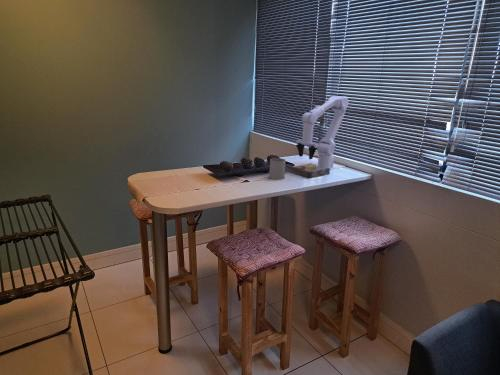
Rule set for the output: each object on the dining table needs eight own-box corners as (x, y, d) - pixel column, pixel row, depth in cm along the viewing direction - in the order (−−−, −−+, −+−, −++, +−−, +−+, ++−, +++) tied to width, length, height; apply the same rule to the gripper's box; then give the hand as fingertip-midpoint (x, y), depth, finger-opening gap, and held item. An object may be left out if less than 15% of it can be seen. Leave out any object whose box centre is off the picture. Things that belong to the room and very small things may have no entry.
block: (299, 173, 197) (299, 164, 195) (309, 171, 202) (310, 163, 201) (304, 175, 194) (305, 166, 192) (315, 173, 199) (316, 164, 197)
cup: (284, 179, 186) (286, 161, 182) (269, 179, 186) (270, 161, 183) (283, 175, 194) (284, 158, 190) (269, 175, 194) (270, 157, 191)
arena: (300, 166, 215) (300, 160, 214) (329, 175, 198) (329, 168, 197) (280, 170, 205) (280, 163, 204) (309, 179, 188) (309, 172, 187)
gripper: (293, 133, 198) (291, 156, 202) (312, 136, 188) (310, 161, 192) (301, 132, 203) (300, 154, 207) (321, 135, 192) (318, 159, 196)
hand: (305, 157), depth 200 cm, fingers open, 7 cm apart
